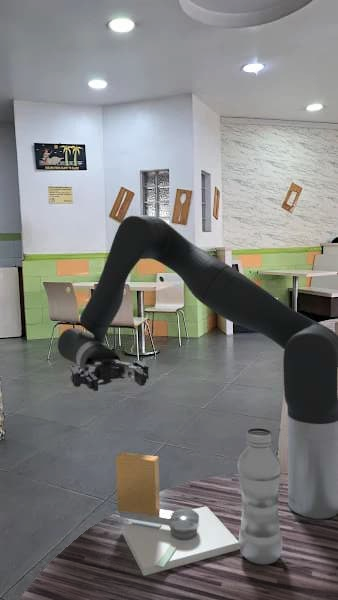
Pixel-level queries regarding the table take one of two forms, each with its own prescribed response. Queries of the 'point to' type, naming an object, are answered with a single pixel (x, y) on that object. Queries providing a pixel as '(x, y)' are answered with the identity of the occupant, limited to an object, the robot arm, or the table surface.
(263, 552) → the plastic bottle
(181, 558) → the base plate
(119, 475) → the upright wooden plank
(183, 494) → the table surface
